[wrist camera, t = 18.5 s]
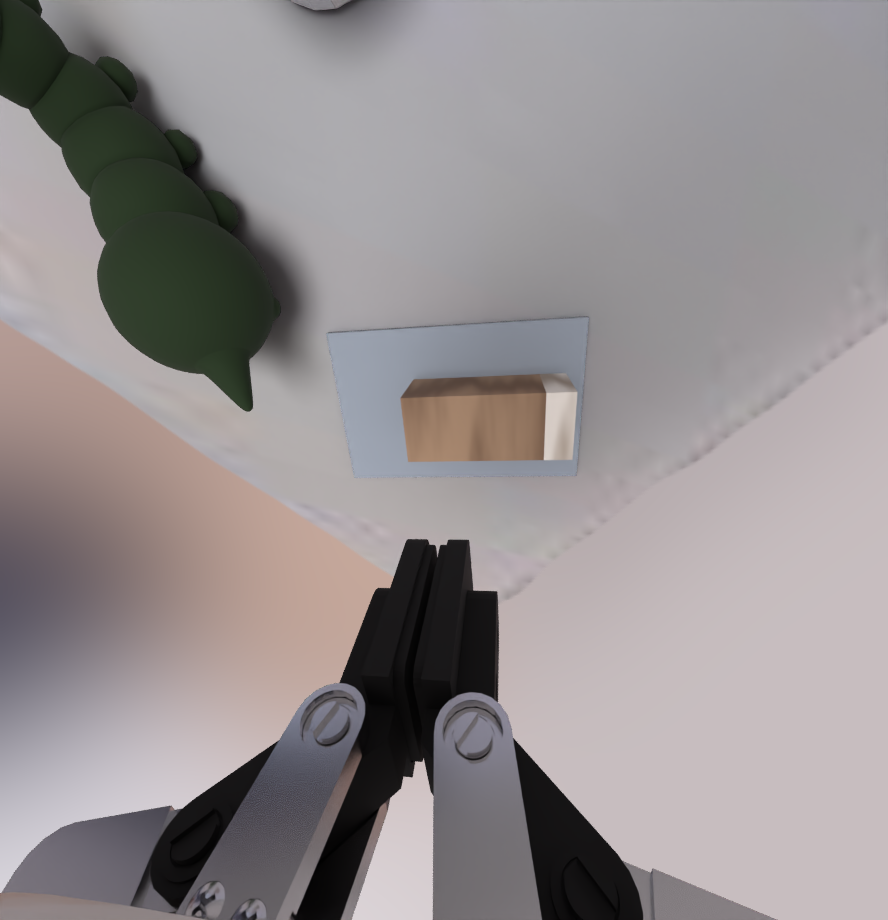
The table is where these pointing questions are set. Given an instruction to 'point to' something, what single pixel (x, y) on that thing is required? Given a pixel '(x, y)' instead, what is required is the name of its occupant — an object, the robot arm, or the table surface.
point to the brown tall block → (490, 418)
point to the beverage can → (321, 4)
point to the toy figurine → (143, 211)
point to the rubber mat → (445, 356)
